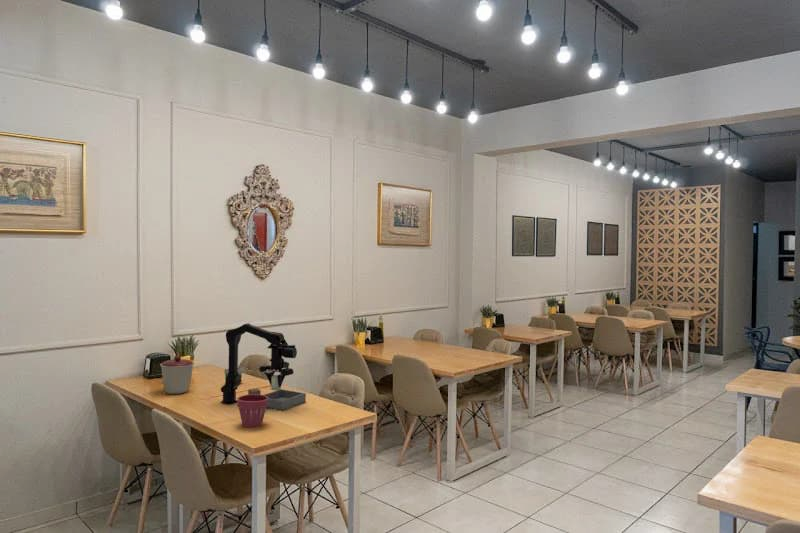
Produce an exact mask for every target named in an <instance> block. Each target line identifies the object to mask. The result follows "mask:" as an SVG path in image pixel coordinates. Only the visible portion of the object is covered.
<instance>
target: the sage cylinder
mask: <svg viewBox="0 0 800 533" xmlns="http://www.w3.org/2000/svg"><path fill="white" fill-rule="evenodd" d="M277 375H278V374H274V375H272V376H271V385H270V389H271V391H277V390H280V389H282V386H281V387H279V385H278V376H277Z"/></svg>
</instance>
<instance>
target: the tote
mask: <svg viewBox="0 0 800 533" xmlns="http://www.w3.org/2000/svg"><path fill="white" fill-rule="evenodd" d="M263 395H265V396H267V397H268V406H267V407H266V409H270V410H274V409H276V411H279V410H281V411H280V412H283V410H284V411H286V410H289V409H292V408H294V407H297V406H299V404H300V405H302V404H304V402H305V403H306V402H307V401H306V400H307V399H306V398H307V393H305V392H302V391H294V390H288V389H283V388H281V389H280V390H273V391H271V392H267V393H264V394H263ZM296 405H297V406H296ZM293 406H294V407H293ZM291 407H292V408H291ZM288 408H289V409H288ZM285 409H286V410H285Z"/></svg>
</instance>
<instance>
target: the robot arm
mask: <svg viewBox="0 0 800 533" xmlns="http://www.w3.org/2000/svg"><path fill="white" fill-rule="evenodd" d="M245 333H249V334H251V335H254V336H256V337H259V338H262V339H264V340H265V341H267V343H270V344H269V346H267V349H271V352H270V358H269V362H270V364H264V365H260V367H259V372H260V373H263V374H264V375H265V376H266V378H267V380H268V382H269V384H270V386H271V376H272V375H275V373H279V374H276V375H277V376H278V385H279V387H281V388H282V385H283V382H284V380H285V377H286V376H287V377H288V376H290V375H294V369H293V368H289V367H290V362H288V361H285V359H295V358H296V357H297V355H298V350H297V348H296V345H295V344H288V342H287V341H286V339H285V336H284V333H281V332H279V331H269V330H266V329H264V328H260V327H257V326H255V325H253V324H250V323H244V324H242V325H240V326H239V327H236V328H231V329H228V330H227V331H226V332H225V340H226V343H227V345H228V369H229V372H228V375H227V377H226V380H225V382H224V385H222V386H221V387H220V392H221V393H222V400H221V401H220V404H221V403H222V404H226V405H230V404H234V403H237V390H238V389H239V387H240V386H241V383H242V382H243V381H242V380H243V379H242V377H243V375H242V374H241V375H239V373H238V368H239V364H238V363H239V344H240V342H241V338H242V335H244V334H245ZM284 358H285V359H284Z"/></svg>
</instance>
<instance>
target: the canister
mask: <svg viewBox="0 0 800 533" xmlns="http://www.w3.org/2000/svg"><path fill="white" fill-rule="evenodd" d="M181 358H182V357H181V356H180V355H176V356H174V359H169V360H165V361H163V362H162V363H160V364H159V366H160V367H161V374H162V385H163V390H164V392H165V393H166V394H169V395H179V394H180V395H181V394H185V393H187V392H188V391H189V390H190V388H191V382H192V377H193V376H192V374H193V368H194V365H195V362H194V361H192V360H190V359H185V358H184V359H183V358H182V359H181Z"/></svg>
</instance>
